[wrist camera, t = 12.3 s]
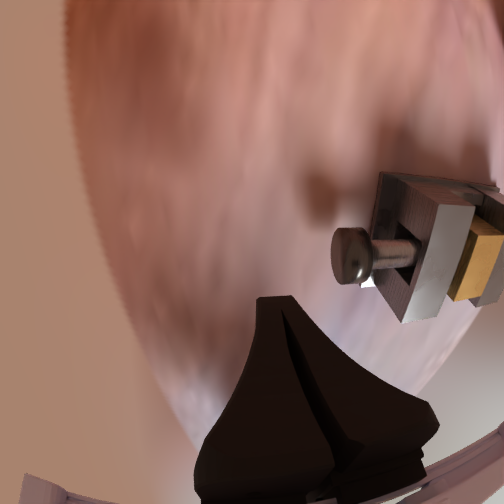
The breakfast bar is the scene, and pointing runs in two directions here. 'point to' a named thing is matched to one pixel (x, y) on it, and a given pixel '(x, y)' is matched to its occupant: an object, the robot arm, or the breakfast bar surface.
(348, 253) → the shaft
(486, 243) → the block
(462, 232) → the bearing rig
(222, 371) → the breakfast bar surface
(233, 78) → the breakfast bar surface
